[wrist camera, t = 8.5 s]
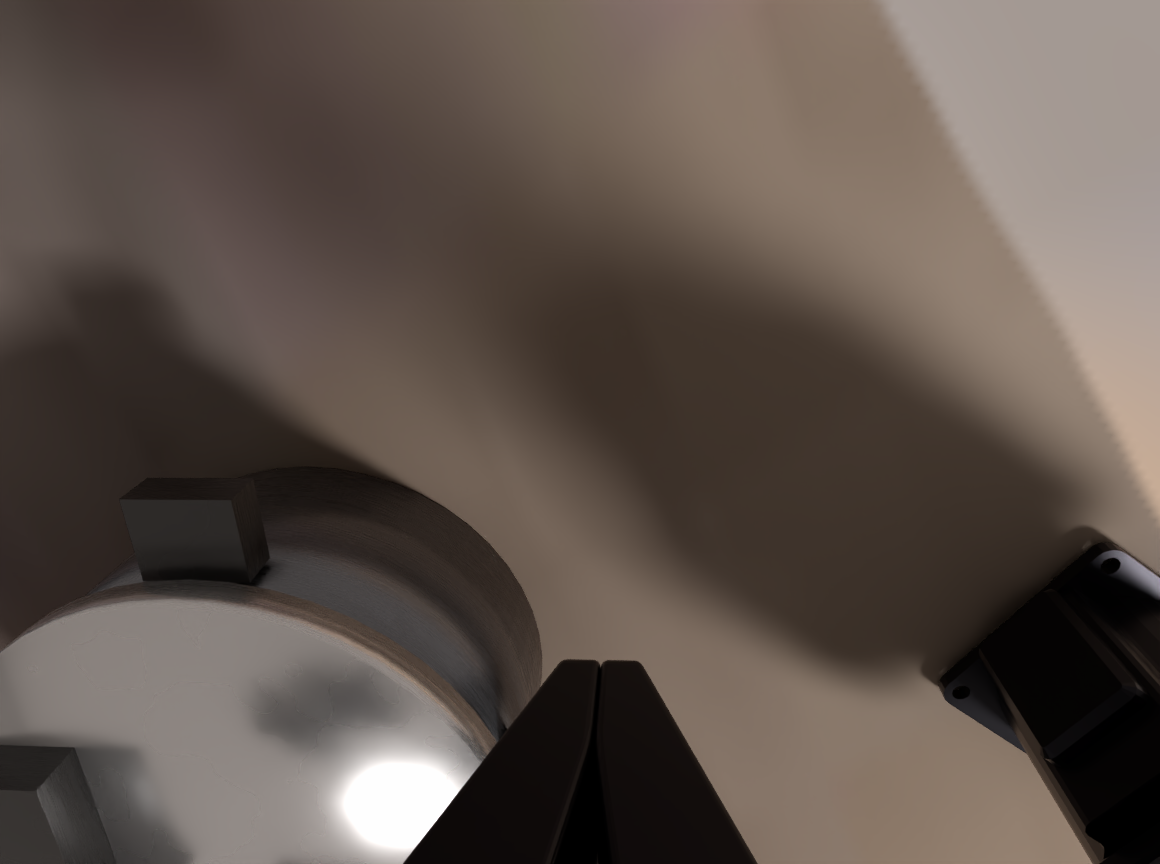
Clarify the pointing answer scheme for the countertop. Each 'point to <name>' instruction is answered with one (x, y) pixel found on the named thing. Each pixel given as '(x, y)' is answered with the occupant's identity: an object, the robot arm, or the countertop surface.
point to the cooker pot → (350, 567)
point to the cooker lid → (222, 733)
